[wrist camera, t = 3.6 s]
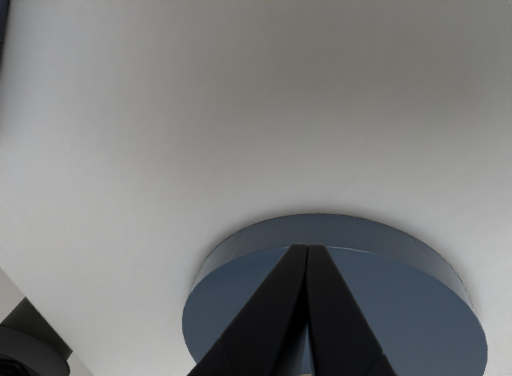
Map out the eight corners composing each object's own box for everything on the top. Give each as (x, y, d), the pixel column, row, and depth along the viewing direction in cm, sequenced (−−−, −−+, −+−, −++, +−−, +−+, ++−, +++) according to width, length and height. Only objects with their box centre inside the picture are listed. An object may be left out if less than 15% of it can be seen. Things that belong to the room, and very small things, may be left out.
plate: (217, 379, 28) (208, 411, 26) (168, 210, 20) (149, 239, 17) (443, 407, 25) (454, 447, 23) (507, 216, 16) (533, 253, 14)
